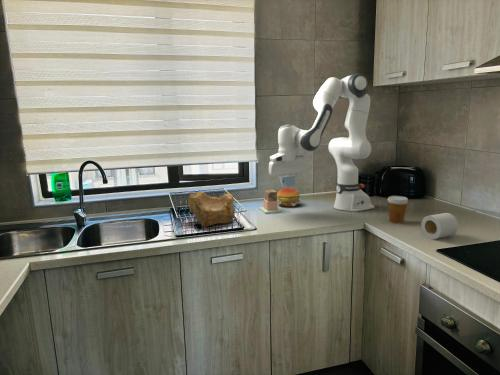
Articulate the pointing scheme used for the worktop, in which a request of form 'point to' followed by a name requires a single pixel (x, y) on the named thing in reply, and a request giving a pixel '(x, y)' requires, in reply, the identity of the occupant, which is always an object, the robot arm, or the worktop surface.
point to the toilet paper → (439, 225)
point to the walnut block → (270, 195)
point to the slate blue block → (288, 181)
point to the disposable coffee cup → (397, 208)
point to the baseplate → (270, 210)
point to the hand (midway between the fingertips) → (287, 182)
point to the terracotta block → (270, 205)
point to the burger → (288, 197)
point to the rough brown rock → (211, 208)
